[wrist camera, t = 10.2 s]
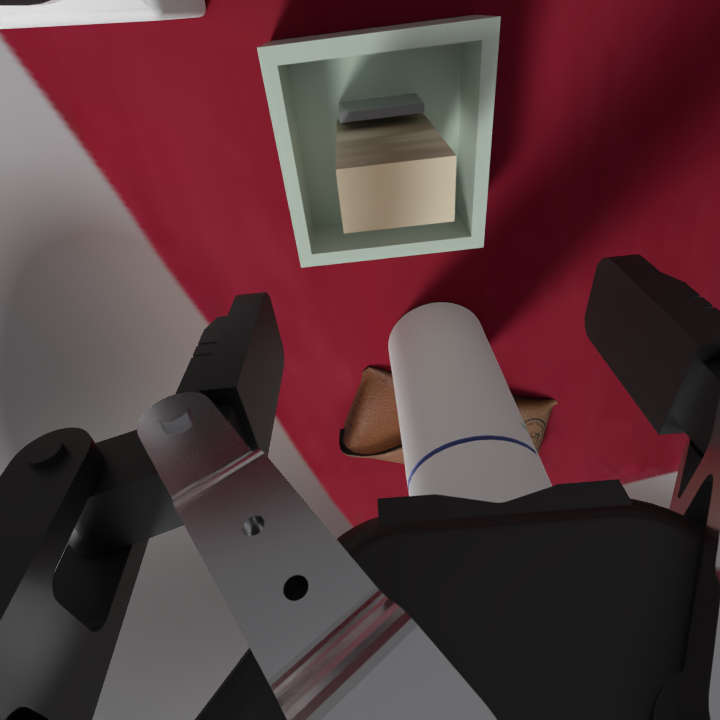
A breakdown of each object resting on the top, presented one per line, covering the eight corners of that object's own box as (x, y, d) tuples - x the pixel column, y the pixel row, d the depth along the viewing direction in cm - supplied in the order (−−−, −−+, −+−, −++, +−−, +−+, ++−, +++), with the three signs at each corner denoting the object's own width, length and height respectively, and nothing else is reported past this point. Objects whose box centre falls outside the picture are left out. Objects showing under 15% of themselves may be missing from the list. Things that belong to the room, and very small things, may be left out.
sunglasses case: (566, 397, 38) (573, 478, 35) (521, 416, 44) (524, 485, 42) (359, 362, 35) (351, 448, 32) (343, 388, 41) (334, 462, 39)
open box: (474, 14, 22) (500, 16, 18) (465, 216, 28) (483, 247, 24) (270, 40, 22) (256, 47, 18) (305, 234, 28) (301, 267, 25)
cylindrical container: (431, 284, 31) (591, 775, 11) (503, 332, 33) (733, 795, 14) (369, 352, 34) (408, 819, 15) (439, 391, 37) (550, 827, 17)
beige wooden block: (421, 110, 24) (456, 155, 17) (422, 160, 25) (454, 221, 18) (336, 120, 24) (335, 169, 17) (342, 170, 25) (343, 233, 18)
